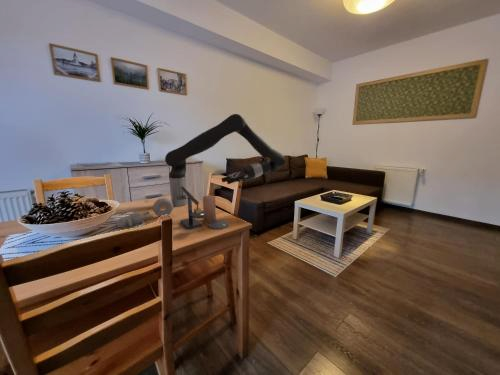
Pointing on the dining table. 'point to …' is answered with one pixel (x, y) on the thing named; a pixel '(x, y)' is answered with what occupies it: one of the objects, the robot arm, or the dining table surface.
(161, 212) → the donut
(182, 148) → the robot arm
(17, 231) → the dining table surface
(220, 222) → the dish low side
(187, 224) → the balance
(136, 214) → the bunny figurine
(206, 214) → the tan round cylinder
